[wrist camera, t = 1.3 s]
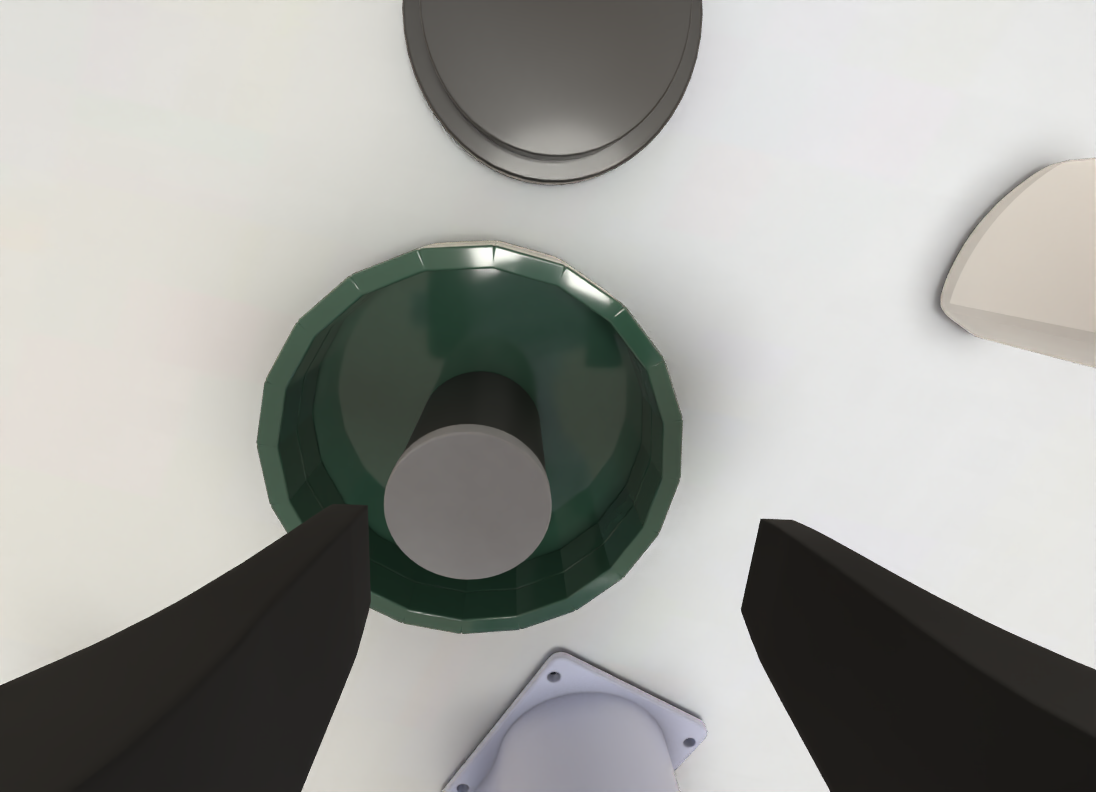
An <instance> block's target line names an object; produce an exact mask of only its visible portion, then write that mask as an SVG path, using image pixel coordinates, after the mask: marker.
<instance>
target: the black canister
mask: <svg viewBox="0 0 1096 792" xmlns="http://www.w3.org/2000/svg"><path fill="white" fill-rule="evenodd" d="M551 511H552V500H551V493H550V486H549V481H548V478H547V474H546V468H545V460H544V452H543V443H542V435H541V427H540V420H539V415H538V411H537V408H536V406H535V404H534V402H533V400H532V399H531V397H530V396H529V395H528V393H527V392H526V391H525V390H524V389H523V388H522V387H521V386H520V385H518V384H517V383H515V382H514V381H513V380H511V379H509V378H507V377H504V376H502V375H499V374H495V373H491V372H469V373H464V374H461V375H458V376H456V377H453V378H451V379H449V380H448V381H446V382H445V383H443V384H442V385H441V386H439V387H438V388H437V389H436V390H435V391H434V393H433V394H432V395H431V397H430V398H429V400H428V402H427V404H426V406H425V408H424V410H423V412H422V414H421V416H420V418H419V420H418V423H417V425H416V427H415V429H414V431H413V433H412V435H411V437H410V440H409V442H408V444H407V446H406V448H405V450H404V452H403V454H402V456H401V457H400V458H399V460H398V461H397V463H396V465H395V467H394V469H393V471H392V473H391V475H390V477H389V480H388V483H387V485H386V490H385V495H384V513H385V519H386V522H387V526H388V528H389V531H390V533H391V535H392V537H393V539H394V540H395V542H396V544H397V545H398V546H399V548H400V549H401V550H402V551H403V552H404V553H405V554H406V555H407V556H408V557H409V558H410V559H411V560H413V561H414V562H415V563H417V564H418V565H420V566H421V567H423V568H425V569H426V570H429V571H431V572H433V573H436V574H439V575H442V576H445V577H450V578H455V579H482V578H488V577H492V576H495V575H499V574H501V573H504V572H506V571H508V570H510V569H512V568H514V567H516V566H517V565H519V564H520V563H522V562H523V561H524V560H525V559H527V558H528V557H529V556H530V555H531V554H532V553H533V552H534V550H535V549H536V548H537V547H538V546H539V544H540V542H541V541H542V539H543V538H544V536H545V533H546V531H547V529H548V526H549V522H550V518H551Z"/></svg>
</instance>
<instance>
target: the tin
mask: <svg viewBox="0 0 1096 792" xmlns="http://www.w3.org/2000/svg"><path fill="white" fill-rule="evenodd" d="M469 372H491V373H495V374H499V375H502V376H504V377H507V378H509V379H511V380H513V381H514V382H515V383H517V384H518V385H520V386H521V387H522V388H523V389H524V390H525V391H526V392H527V393H528V395H529V396H530V397H531V399H532V400H533V402H534V404H535V406H536V408H537V411H538V415H539V420H540V427H541V435H542V443H543V452H544V460H545V468H546V474H547V478H548V481H549V486H550V493H551V500H552V511H551V518H550V522H549V526H548V529H547V531H546V533H545V536H544V538H543V539H542V541H541V542H540V544H539V546H538V547H537V548H536V549H535V550H534V552H533V553H532V554H531V555H530V556H529V557H528V558H527V559H525V560H524V561H523V562H522V563H520V564H519V565H517V566H516V567H514V568H512V569H510V570H508V571H506V572H504V573H501V574H499V575H495V576H492V577H488V578H482V579H455V578H450V577H445V576H442V575H439V574H436V573H433V572H431V571H429V570H426V569H425V568H423V567H421V566H420V565H418V564H417V563H415V562H414V561H413V560H411V559H410V558H409V557H408V556H407V555H406V554H405V553H404V552H403V551H402V550H401V549H400V548H399V546H398V545H397V544H396V542H395V540H394V539H393V537H392V535H391V533H390V531H389V528H388V526H387V522H386V519H385V513H384V495H385V490H386V485H387V483H388V480H389V477H390V475H391V473H392V471H393V469H394V467H395V465H396V463H397V461H398V460H399V458H400V457H401V456H402V454H403V452H404V450H405V448H406V446H407V444H408V442H409V440H410V437H411V435H412V433H413V431H414V429H415V427H416V425H417V423H418V420H419V418H420V416H421V414H422V412H423V410H424V408H425V406H426V404H427V402H428V400H429V398H430V397H431V395H432V394H433V393H434V391H435V390H436V389H437V388H438V387H439V386H441V385H442V384H443V383H445V382H446V381H448V380H449V379H451V378H453V377H456V376H458V375H461V374H464V373H469ZM682 430H683V420H682V414H681V411H680V408H679V405H678V402H677V398H676V395H675V392H674V389H673V385H672V382H671V379H670V376H669V372H668V369H667V366H666V363H665V361H664V360H663V356H662V355H661V354H660V352H659V351H658V350H657V348H656V347H655V346H654V344H653V343H652V342H651V340H650V339H649V338H648V336H647V335H646V333H645V332H644V331H643V329H642V328H641V327H640V325H639V324H638V323H637V321H636V320H635V319H634V317H633V316H632V315H631V313H630V312H629V311H628V309H627V308H626V307H625V306H624V305H623V304H622V303H621V302H620V301H618V300H617V299H616V298H615V297H613V296H612V295H611V294H610V293H609V292H607V291H606V290H605V289H603V288H602V287H600V286H599V285H597V284H596V283H594V282H593V281H591V280H590V279H589V278H587V277H586V276H584V275H583V274H582V273H580V272H578V271H577V270H575V269H574V268H572V267H571V266H570V265H568V264H567V263H565V262H564V261H562V260H561V259H558V258H557V257H554V256H551V255H547V254H544V253H540V252H538V251H534V250H531V249H527V248H523V247H520V246H516V245H512V244H509V243H505V242H502V241H495V240H492V241H460V242H446V243H434V244H430V245H427V246H424V247H421V248H418V249H415V250H412V251H410V252H407V253H405V254H402V255H400V256H397V257H395V258H392V259H389V260H387V261H384V262H382V263H379V264H377V265H374V266H372V267H369V268H366V269H364V270H361V271H359V272H356V273H354V274H352V275H351V276H349V277H347V278H346V279H345V280H344V281H343V282H341V283H340V284H339V285H338V286H337V287H336V288H335V289H333V290H332V291H331V292H330V293H329V294H328V295H327V296H325V297H324V298H323V299H322V300H321V301H320V302H318V303H317V304H316V305H315V306H314V307H313V308H312V309H310V310H309V311H308V312H307V313H306V314H305V315H304V316H302V317H301V318H300V319H299V321H298V322H297V323H296V324H295V326H294V328H293V329H292V331H291V333H290V335H289V337H288V339H287V341H286V342H285V344H284V346H283V348H282V350H281V352H280V353H279V355H278V357H277V359H276V361H275V363H274V365H273V366H272V368H271V370H270V372H269V374H268V376H267V378H266V381H265V382H264V390H263V397H262V405H261V412H260V420H259V428H258V435H257V449H258V453H259V458H260V462H261V467H262V471H263V476H264V480H265V485H266V489H267V494H268V498H269V502H270V504H271V507H272V509H273V511H274V512H275V514H276V515H277V517H278V519H279V520H280V522H281V524H282V525H283V527H284V528H285V530H286V532H287V533H289V532H290V531H292V530H293V529H294V528H296V527H297V526H299V525H300V524H302V523H303V522H305V521H306V520H308V519H309V518H311V517H312V516H314V515H315V514H317V513H318V512H320V511H321V510H323V509H325V508H326V507H328V506H330V505H332V504H350V505H368V526H369V558H370V589H371V604H370V607H369V608H371V609H373V610H375V611H377V612H379V613H382V614H384V615H386V616H388V617H390V618H392V619H394V620H396V621H398V622H401V623H402V622H403V623H404V624H409V625H414V626H420V627H425V628H431V629H436V630H442V631H447V632H453V633H458V634H461V632H462V634H469V633H483V632H496V631H510V630H519V629H524V628H527V627H530V626H533V625H536V624H538V623H541V622H544V621H547V620H550V619H553V618H556V617H559V616H562V615H565V614H567V613H570V612H573V611H575V610H578V609H579V608H580V607H582V606H583V605H585V604H586V603H588V602H589V601H591V600H592V599H594V598H595V597H596V596H598V595H599V594H601V593H602V592H604V591H605V590H607V589H608V588H610V587H611V586H612V585H614V584H615V583H617V582H618V581H620V580H621V579H622V578H623V577H625V575H626V574H627V573H628V572H629V570H630V569H631V568H632V567H633V566H634V564H635V563H636V562H637V561H638V559H639V558H640V557H641V556H642V554H643V553H644V552H645V551H646V549H647V548H648V547H649V546H650V545H651V543H652V542H653V541H654V540H655V538H656V537H657V536H658V534H659V532H660V530H661V528H662V525H663V523H664V520H665V517H666V515H667V512H668V510H669V507H670V504H671V502H672V499H673V497H674V494H675V492H676V489H677V486H678V484H679V481H680V477H681V454H682Z"/></svg>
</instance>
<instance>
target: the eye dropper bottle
mask: <svg viewBox="0 0 1096 792" xmlns="http://www.w3.org/2000/svg"><path fill="white" fill-rule="evenodd" d="M941 308H942V309H943V311H944V313H945V314H946V315H947V316H948V317H949V318H950V319H952V320H953V321H954V322H956V323H957V324H958V325H960V326H961V327H962V328H964V329H965V330H966V331H968V332H969V333H971V334H972V335H974V336H976V337H979V338H982V339H986V340H990V341H993V342H997V343H1001V344H1005V345H1009V346H1012V347H1016V348H1020V349H1024V350H1028V351H1031V352H1035V353H1039V354H1043V355H1047V356H1051V357H1054V358H1058V359H1062V360H1066V361H1070V362H1073V363H1077V364H1081V365H1085V366H1089V367H1093V368H1096V158H1086V159H1077V160H1068V161H1063V162H1060V163H1056V164H1052V165H1050V166H1047V167H1045V168H1044V169H1042V170H1040V171H1038V172H1037V173H1035V174H1034V175H1032V176H1031V177H1029V178H1028V179H1026V180H1025V181H1024V182H1022V183H1021V184H1020V185H1018V186H1017V187H1016V188H1015V189H1013V190H1012V191H1011V192H1010V193H1009V194H1007V195H1006V196H1005V197H1004V198H1003V199H1002V200H1001V201H1000V202H999V203H997V204H996V205H995V206H994V207H993V208H992V209H991V211H990V212H989V213H988V214H987V215H986V216H985V217H984V218H983V219H982V221H981V222H980V223H979V224H978V225H977V227H976V228H975V229H974V231H973V232H972V233H971V235H970V236H969V238H968V239H967V241H966V242H965V244H964V245H963V247H962V249H961V250H960V252H959V254H958V256H957V257H956V259H955V261H954V263H953V265H952V267H951V270H950V272H949V274H948V276H947V279H946V281H945V284H944V287H943V290H942V293H941Z"/></svg>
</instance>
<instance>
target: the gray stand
mask: <svg viewBox="0 0 1096 792" xmlns="http://www.w3.org/2000/svg"><path fill="white" fill-rule="evenodd" d="M402 10H403V24H404V34H405V40H406V45H407V50H408V55H409V58H410V62H411V65H412V68H413V71H414V75H415V77H416V80H417V82H418V84H419V86H420V89H421V91H422V93H423V96H424V97H425V99H426V101H427V103H428V104H429V106H430V108H431V109H432V111H433V113H434V114H435V116H436V117H437V118H438V120H439V121H440V122H441V124H442V125H443V126H444V128H445V129H446V130H447V132H448V133H449V134H450V135H451V136H452V137H453V139H454V140H455V141H456V142H457V143H458V144H459V145H460V146H461V147H462V148H463V149H464V150H466V151H467V152H468V153H469V154H470V155H472V156H473V157H474V158H475V159H477V160H478V161H480V162H481V163H483V164H484V165H486V166H488V167H489V168H491V169H493V170H494V171H497V172H499V173H501V174H503V175H506V176H508V177H510V178H514V179H517V180H521V181H524V182H529V183H536V184H543V185H562V184H569V183H577V182H581V181H584V180H588V179H591V178H595V177H597V176H599V175H602V174H604V173H606V172H608V171H611V170H613V169H615V168H617V167H618V166H620V165H622V164H623V163H625V162H627V161H628V160H630V159H631V158H633V157H634V156H635V155H636V154H638V153H639V152H640V151H641V150H643V149H644V148H645V147H646V146H647V145H648V144H649V143H650V142H651V141H652V140H653V139H654V138H655V137H656V136H657V135H658V134H659V133H660V131H661V130H662V129H663V127H664V126H665V125H666V123H667V122H668V121H669V119H670V118H671V117H672V115H673V113H674V112H675V110H676V108H677V106H678V105H679V103H680V101H681V100H682V98H683V95H684V93H685V91H686V88H687V86H688V84H689V81H690V79H691V76H692V73H693V69H694V66H695V63H696V59H697V55H698V49H699V44H700V39H701V28H702V15H703V13H702V0H403V5H402Z"/></svg>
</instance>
